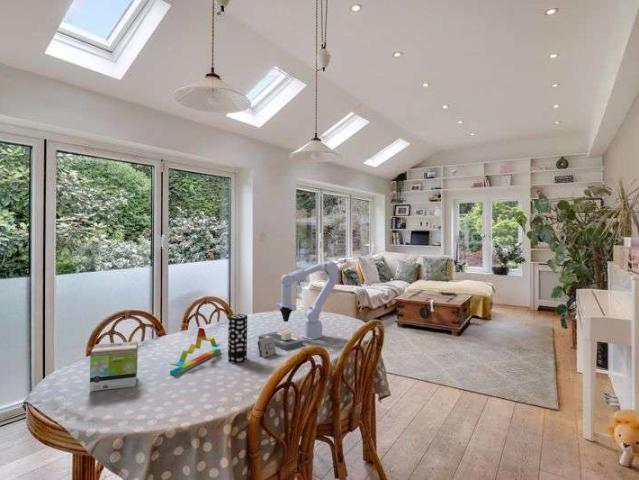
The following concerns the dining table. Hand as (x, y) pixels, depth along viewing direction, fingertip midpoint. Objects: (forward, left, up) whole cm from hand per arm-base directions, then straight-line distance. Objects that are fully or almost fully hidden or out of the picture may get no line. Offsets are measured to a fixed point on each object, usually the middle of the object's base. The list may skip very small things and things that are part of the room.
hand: (285, 321), depth 201 cm
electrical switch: (+24, +14, -10) cm, 29 cm away
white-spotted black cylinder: (+38, +11, -10) cm, 41 cm away
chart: (+53, +2, -10) cm, 53 cm away
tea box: (+86, +2, -10) cm, 87 cm away
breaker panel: (+7, +4, -9) cm, 12 cm away
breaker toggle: (+7, +9, -6) cm, 13 cm away
